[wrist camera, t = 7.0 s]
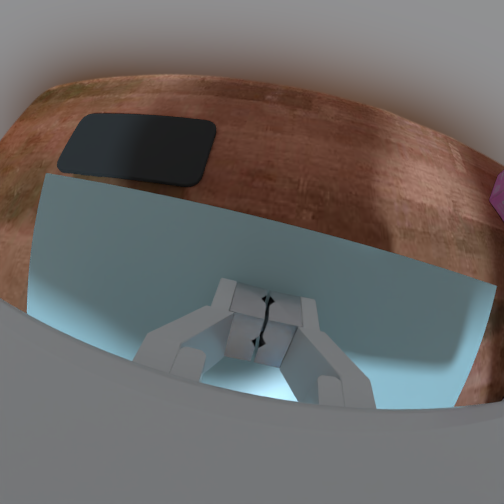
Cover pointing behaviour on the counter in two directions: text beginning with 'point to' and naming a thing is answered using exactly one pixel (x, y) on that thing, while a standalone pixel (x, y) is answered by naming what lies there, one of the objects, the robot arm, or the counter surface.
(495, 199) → the gum box
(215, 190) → the counter surface
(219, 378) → the panel
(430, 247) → the counter surface
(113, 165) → the phone
